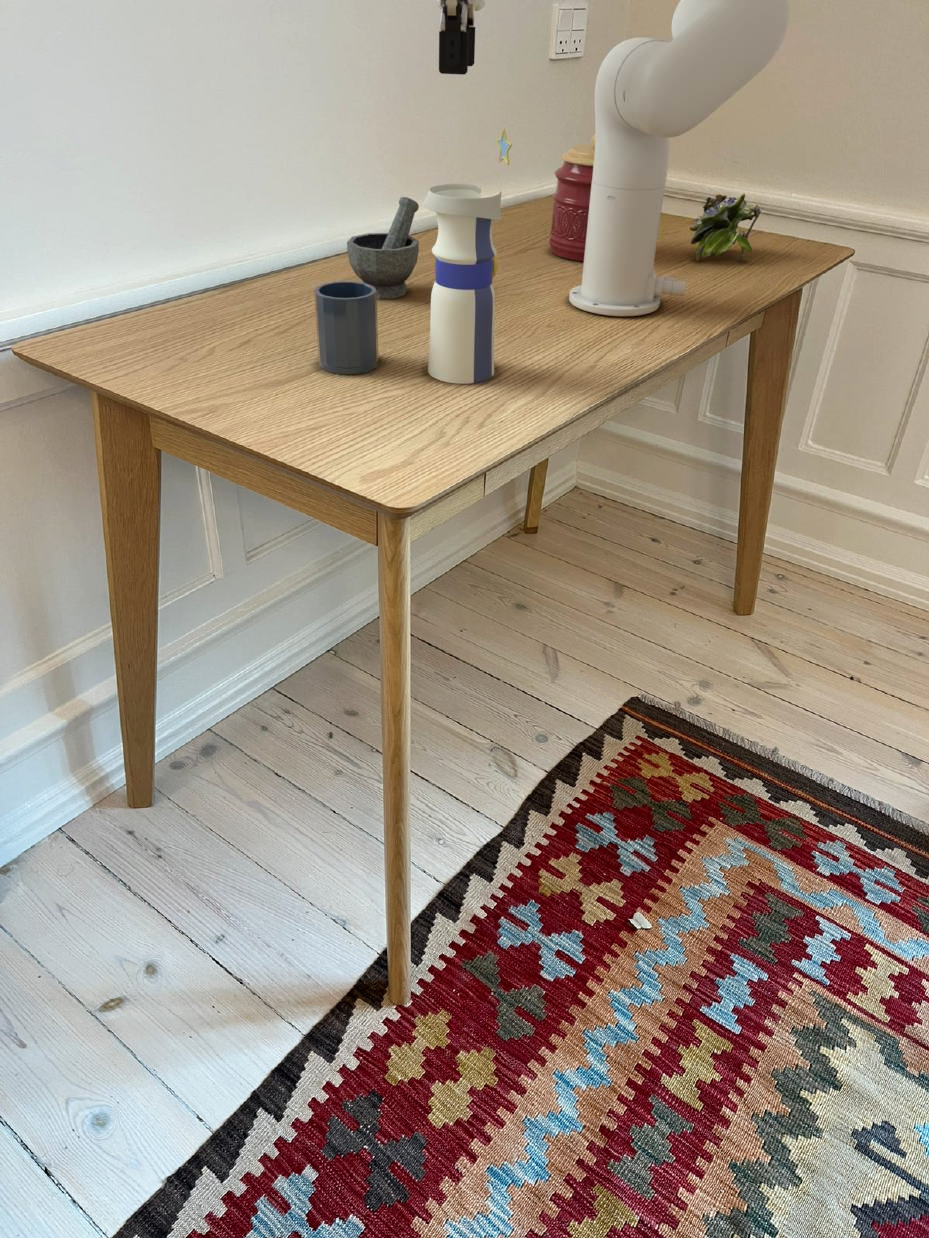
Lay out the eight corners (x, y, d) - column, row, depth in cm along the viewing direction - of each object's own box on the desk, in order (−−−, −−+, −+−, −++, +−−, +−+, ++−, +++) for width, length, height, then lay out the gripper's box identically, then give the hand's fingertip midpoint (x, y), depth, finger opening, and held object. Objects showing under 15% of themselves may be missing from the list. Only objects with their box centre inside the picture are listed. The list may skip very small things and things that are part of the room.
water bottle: (460, 352, 112) (466, 120, 98) (511, 372, 107) (525, 131, 93) (409, 368, 108) (407, 127, 93) (460, 389, 103) (467, 138, 88)
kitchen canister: (632, 265, 147) (648, 141, 136) (550, 262, 147) (560, 138, 136) (622, 244, 157) (637, 127, 147) (546, 241, 157) (555, 125, 147)
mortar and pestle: (380, 307, 126) (378, 213, 119) (335, 291, 131) (331, 200, 124) (439, 291, 133) (440, 201, 126) (394, 277, 138) (392, 189, 131)
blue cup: (382, 355, 111) (380, 283, 106) (372, 376, 105) (370, 300, 100) (326, 352, 111) (321, 279, 106) (313, 373, 106) (308, 297, 101)
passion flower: (700, 283, 158) (724, 216, 158) (757, 286, 151) (783, 215, 150) (668, 252, 150) (693, 180, 149) (727, 253, 143) (754, 177, 142)
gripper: (491, -122, 91) (484, 79, 101) (500, -111, 105) (493, 64, 115) (415, -124, 91) (415, 76, 101) (434, -113, 105) (433, 61, 115)
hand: (457, 69), depth 108 cm, fingers open, 9 cm apart
